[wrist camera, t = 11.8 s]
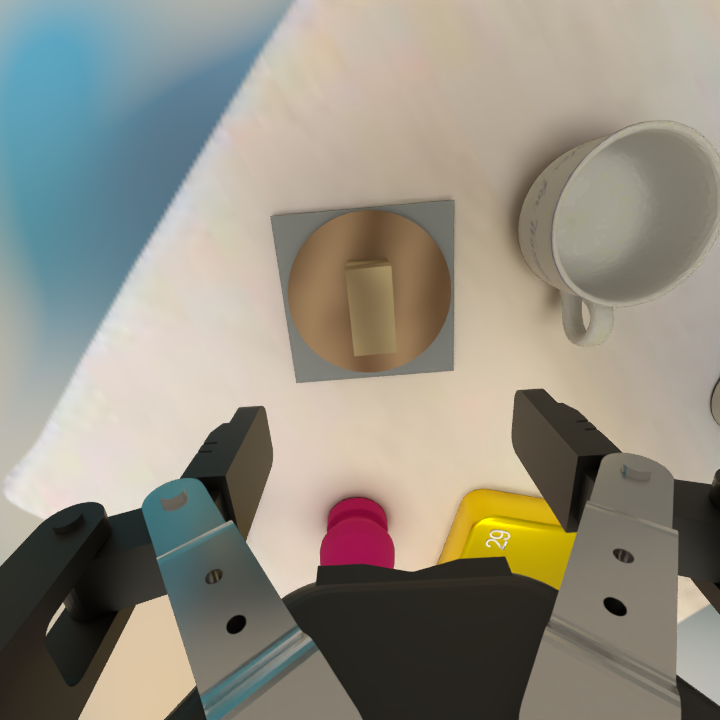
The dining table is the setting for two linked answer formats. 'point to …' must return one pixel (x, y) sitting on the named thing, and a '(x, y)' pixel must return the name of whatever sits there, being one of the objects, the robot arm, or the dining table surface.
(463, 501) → the element tile
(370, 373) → the mat
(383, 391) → the dining table surface
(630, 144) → the teacup
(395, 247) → the lid
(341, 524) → the pepper mill
